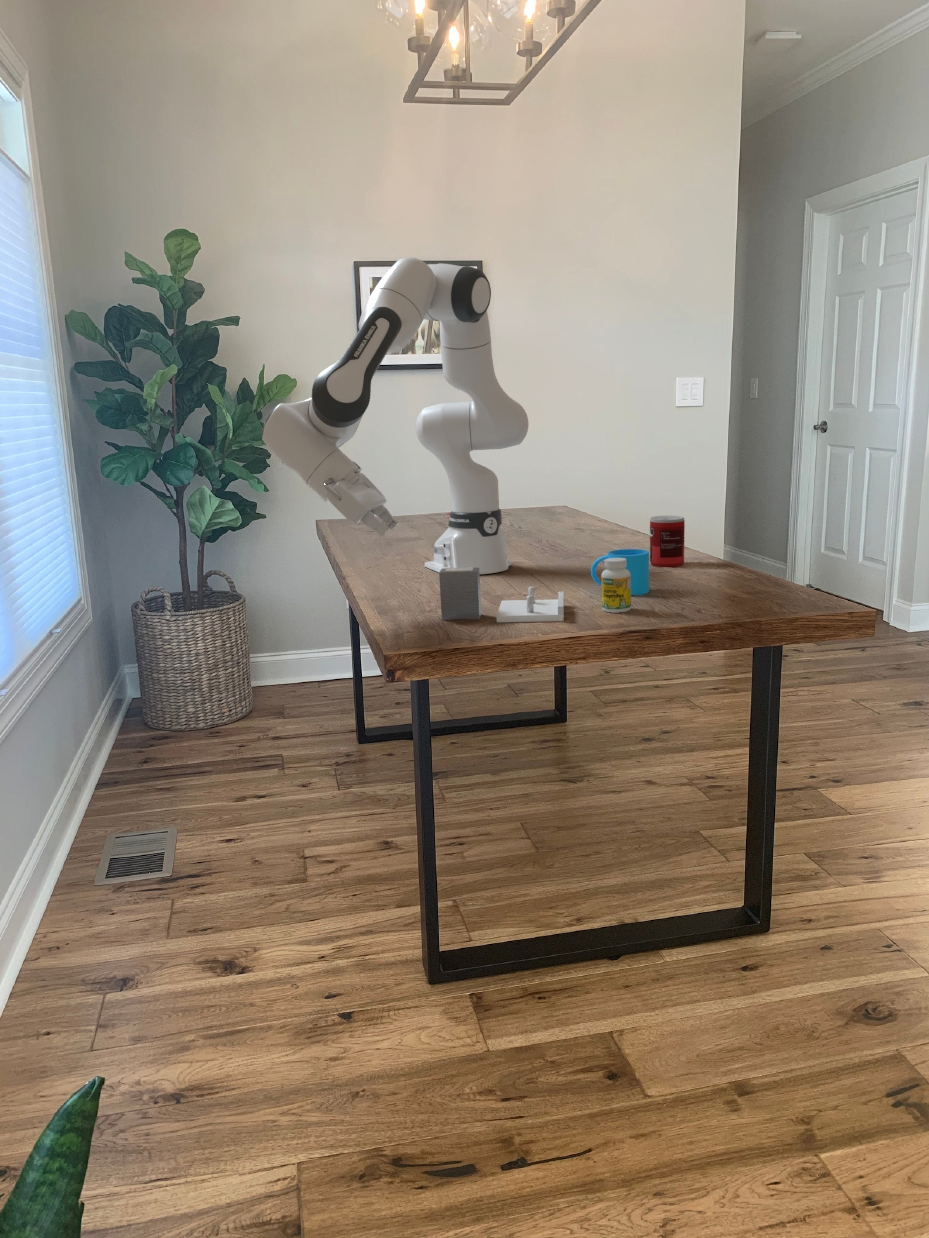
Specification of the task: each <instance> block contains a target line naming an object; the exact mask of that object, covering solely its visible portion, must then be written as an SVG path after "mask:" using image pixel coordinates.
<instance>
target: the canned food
mask: <svg viewBox="0 0 929 1238" xmlns="http://www.w3.org/2000/svg"><path fill="white" fill-rule="evenodd" d="M649 519H650V520H649V564H650V565H651V566H652V565H653V566H652V567H654V566H655V567H656V568H662V567H672V568H679V567H678V566H680V567H682V566H684V563H685V529H686V527H685V525H686V524H685V517H684V516H680V515H656V516H652V517H650V518H649ZM681 565H682V566H681Z"/></svg>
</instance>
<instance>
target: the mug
mask: <svg viewBox="0 0 929 1238" xmlns="http://www.w3.org/2000/svg"><path fill="white" fill-rule="evenodd" d="M608 558H625V559H626V560H627V566H626V567H625V569H627V570H628V571H629V572H630V575H631V595H639V596H643V595H642V594H644V595H646V594H645V593H647V594H649V593H650V550H649V551H648V550H646V549H638V548H625V549H623V548H622V549H614V550H610V551H608V552H607V554H605V555H603V556H600V557H598V558H597V559H596V560H595V561H594V562H593V563H592V564H591V568H590V573H591V578H592V579H593V581H594V582H595V583H596V584H597V585H599V587H601V588H602V585H601V580H600V579H599V577H598V576H597V573H596V571H597V567H598V565H599V564H600V563H601V562H603V561H605V559H608ZM648 592H649V593H648Z"/></svg>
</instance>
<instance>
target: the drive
mask: <svg viewBox="0 0 929 1238" xmlns="http://www.w3.org/2000/svg"><path fill="white" fill-rule="evenodd" d="M438 573H439V574H438V575H439V589H440V590H439V593H440V609H441V610H440V611H441V621H455V620H454V619H479V620H480V619H481V617H482V601H481V600H482V599H481V597H482V596H481V578H480V577H481V574H480V571H479V568H474V567H460V568H444V569H441V571H440V572H438Z"/></svg>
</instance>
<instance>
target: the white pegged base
mask: <svg viewBox="0 0 929 1238" xmlns="http://www.w3.org/2000/svg"><path fill="white" fill-rule="evenodd" d="M557 594H558V595H557V598H556V599H554V598H553V599H536V587H535V586H529V587H528V595H526V599H518V600H517V599H514V600H513V599H512V600H511V599H510V600H501V602H500V605H499V608H498V610H497V615H496V623H532V622H533V623H535V622H536V623H538V622H539V623H540V622H545V623H546V622H564V621H565V620H564V618H565V613H564V612H565V611H564V610H565V601H564V600H565V597H564V596H565V593H564V591H557Z"/></svg>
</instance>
